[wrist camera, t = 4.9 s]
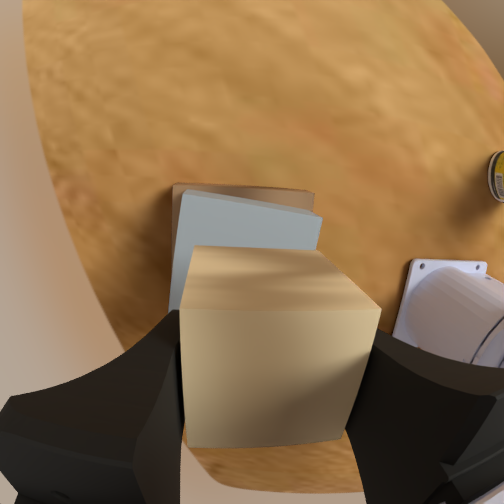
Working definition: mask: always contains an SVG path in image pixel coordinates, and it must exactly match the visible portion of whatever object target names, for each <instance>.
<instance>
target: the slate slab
mask: <svg viewBox="0 0 504 504" xmlns="http://www.w3.org/2000/svg"><path fill="white" fill-rule="evenodd" d="M322 219H323V218H322V217H320V216H318V215H316V214H315V213H313V212H311V211H309V210H305V209H300V208H295V207H290V206H284V205H279V204H274V203H268V202H263V201H257V200H251V199H246V198H240V197H234V196H228V195H222V194H216V193H209V192H203V191H196V190H190V189H187V190H186V191H185V192H184V193H183V195H182V201H181V208H180V215H179V222H178V229H177V237H176V244H175V252H174V261H173V270H172V279H171V288H170V298H169V309H168V313H169V312H170V311H171V310H173V309H176V310H180V304H181V299H182V295H183V291H184V286H185V282H186V278H187V274H188V270H189V265H190V261H191V257H192V253H193V249H194V245H203V246H227V247H251V248H274V249H297V250H315V249H316V245H317V241H318V237H319V232H320V228H321V224H322Z"/></svg>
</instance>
